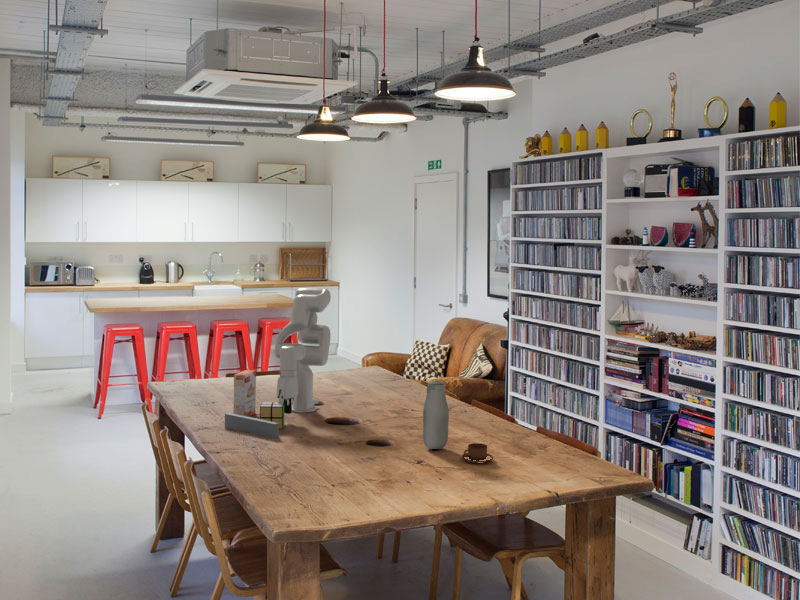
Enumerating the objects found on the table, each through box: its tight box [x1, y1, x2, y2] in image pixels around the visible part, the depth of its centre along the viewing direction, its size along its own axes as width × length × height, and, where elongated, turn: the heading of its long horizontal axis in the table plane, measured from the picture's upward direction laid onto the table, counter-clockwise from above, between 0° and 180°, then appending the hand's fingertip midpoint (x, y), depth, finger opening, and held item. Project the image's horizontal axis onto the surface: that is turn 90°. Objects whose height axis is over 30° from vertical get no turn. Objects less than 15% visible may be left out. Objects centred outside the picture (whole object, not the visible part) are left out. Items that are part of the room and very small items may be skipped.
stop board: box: [224, 412, 280, 439], centre depth 356 cm, size 2×30×6 cm, turn 55°
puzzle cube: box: [259, 401, 285, 430], centre depth 366 cm, size 10×10×10 cm
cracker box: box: [232, 369, 257, 417], centre depth 384 cm, size 14×6×21 cm, turn 168°
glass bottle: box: [422, 380, 450, 450], centre depth 333 cm, size 10×10×28 cm
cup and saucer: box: [461, 442, 494, 463], centre depth 319 cm, size 12×12×6 cm
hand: (287, 413), depth 375 cm, fingers closed
